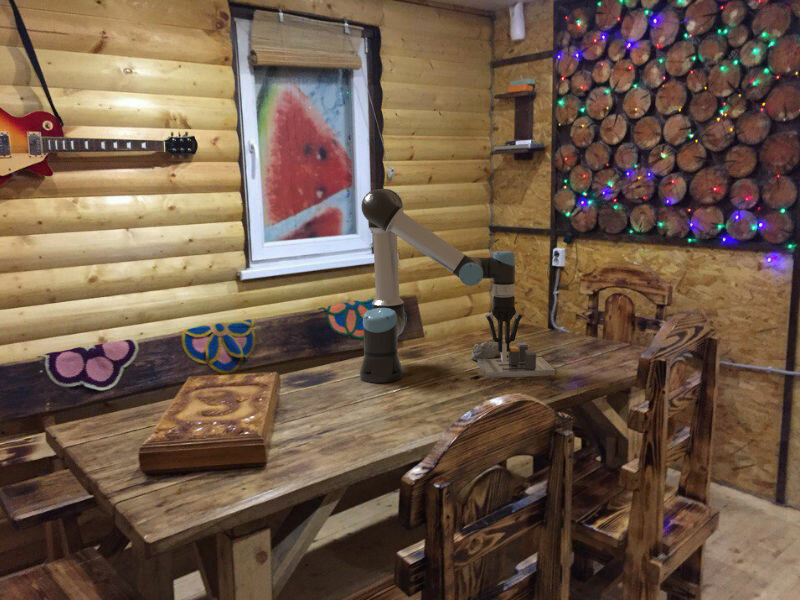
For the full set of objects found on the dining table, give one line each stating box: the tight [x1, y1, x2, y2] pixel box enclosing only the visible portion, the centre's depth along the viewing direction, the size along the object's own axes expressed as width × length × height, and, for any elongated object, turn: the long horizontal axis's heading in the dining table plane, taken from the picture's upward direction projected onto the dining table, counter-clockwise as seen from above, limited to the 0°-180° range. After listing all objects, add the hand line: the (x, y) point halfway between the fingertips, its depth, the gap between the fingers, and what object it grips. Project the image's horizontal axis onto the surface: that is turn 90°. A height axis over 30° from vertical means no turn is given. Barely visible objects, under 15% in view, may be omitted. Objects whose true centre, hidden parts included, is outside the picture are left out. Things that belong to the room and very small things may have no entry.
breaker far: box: [516, 342, 529, 361], centre depth 238 cm, size 3×4×6 cm
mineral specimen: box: [470, 340, 501, 361], centre depth 250 cm, size 16×7×7 cm, turn 121°
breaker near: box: [525, 349, 537, 369], centre depth 227 cm, size 3×4×6 cm
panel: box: [477, 356, 556, 379], centre depth 233 cm, size 24×17×2 cm
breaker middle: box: [507, 346, 519, 365], centre depth 232 cm, size 3×4×6 cm
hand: (503, 360), depth 232 cm, fingers closed
